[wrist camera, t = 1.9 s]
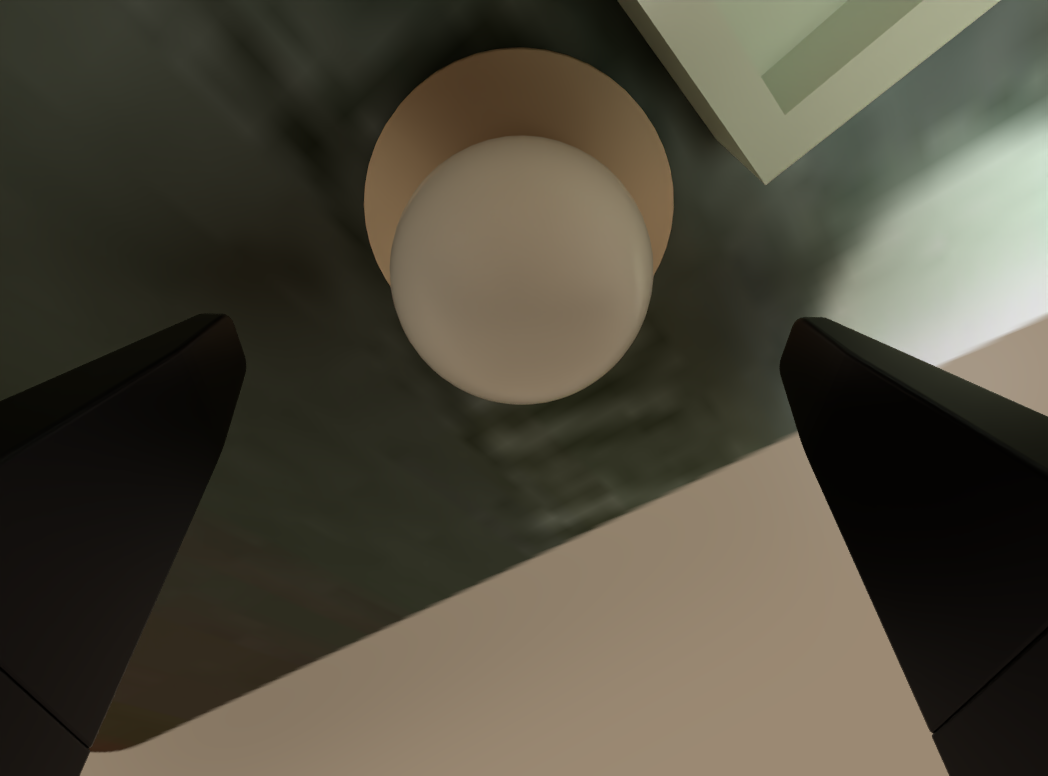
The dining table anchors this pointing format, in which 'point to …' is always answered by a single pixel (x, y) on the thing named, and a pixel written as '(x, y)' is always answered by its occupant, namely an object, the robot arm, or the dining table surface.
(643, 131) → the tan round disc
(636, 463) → the dining table surface
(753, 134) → the egg tray
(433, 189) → the white egg
